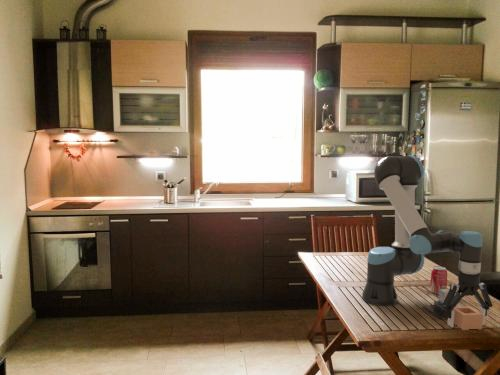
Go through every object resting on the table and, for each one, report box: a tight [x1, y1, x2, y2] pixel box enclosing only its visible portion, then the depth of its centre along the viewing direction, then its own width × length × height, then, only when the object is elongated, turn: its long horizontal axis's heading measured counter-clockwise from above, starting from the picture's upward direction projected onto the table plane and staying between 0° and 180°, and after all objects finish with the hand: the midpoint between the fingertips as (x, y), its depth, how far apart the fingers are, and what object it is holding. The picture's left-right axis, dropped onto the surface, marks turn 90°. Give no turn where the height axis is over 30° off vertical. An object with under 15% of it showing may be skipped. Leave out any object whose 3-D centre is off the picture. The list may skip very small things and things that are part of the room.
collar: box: [453, 305, 483, 331], centre depth 171 cm, size 8×8×6 cm
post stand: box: [423, 288, 457, 320], centre depth 183 cm, size 12×12×10 cm
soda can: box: [429, 265, 448, 295], centre depth 207 cm, size 7×7×12 cm
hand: (465, 325), depth 171 cm, fingers open, 12 cm apart
